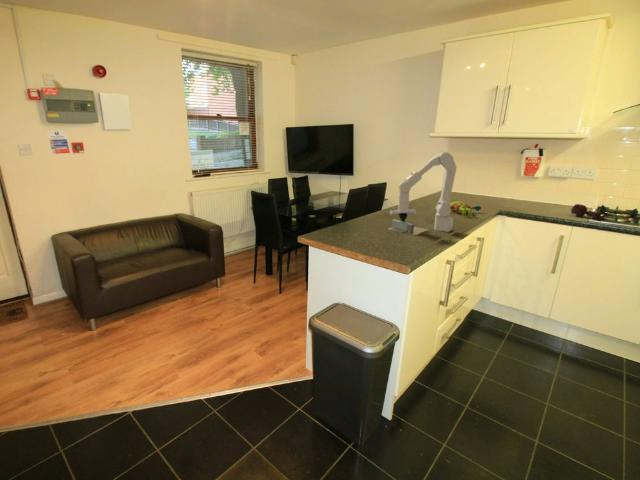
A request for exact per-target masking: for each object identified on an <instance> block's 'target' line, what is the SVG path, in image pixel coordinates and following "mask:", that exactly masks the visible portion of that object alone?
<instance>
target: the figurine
mask: <svg viewBox="0 0 640 480" xmlns="http://www.w3.org/2000/svg"><path fill="white" fill-rule="evenodd" d="M570 213H571V214H572V215H574V216H576V217H578V218H582V217H584V216H585V215H586V216H587V217H589V218H592V219H594V220H596V221H602V220H604V218H605V217H606V215H605V214H601V213H599V212H597V211H594V210H593V211H592V210H588V207H587V206H586V205H584V204H580V203H577V204H574V205H573V206H572V207H571V210H570Z"/></svg>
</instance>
